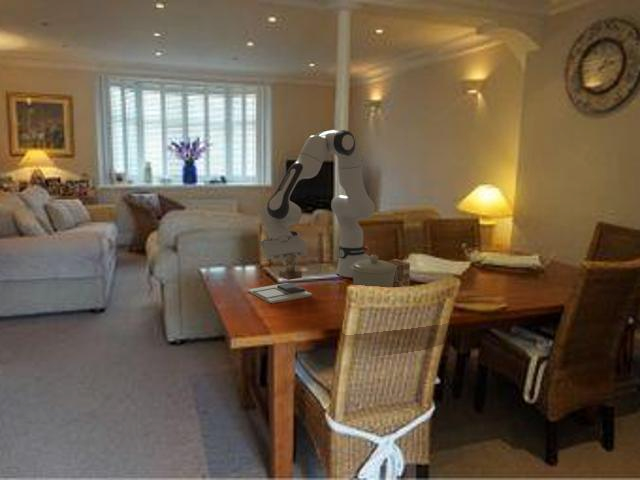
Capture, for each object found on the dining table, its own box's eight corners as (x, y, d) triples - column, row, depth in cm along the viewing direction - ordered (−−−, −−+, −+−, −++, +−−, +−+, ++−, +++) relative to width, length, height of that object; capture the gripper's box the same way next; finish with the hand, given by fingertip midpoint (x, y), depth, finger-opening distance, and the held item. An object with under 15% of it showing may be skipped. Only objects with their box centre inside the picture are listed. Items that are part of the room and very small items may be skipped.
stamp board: (286, 285, 240) (286, 280, 239) (311, 295, 224) (312, 290, 223) (247, 291, 228) (247, 286, 228) (270, 303, 212) (270, 298, 212)
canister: (345, 311, 204) (346, 258, 200) (354, 298, 221) (356, 249, 218) (391, 316, 200) (394, 261, 196) (397, 302, 217) (400, 252, 213)
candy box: (409, 298, 223) (410, 262, 220) (401, 299, 221) (403, 263, 218) (395, 292, 230) (396, 258, 227) (387, 294, 228) (389, 259, 225)
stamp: (292, 274, 233) (293, 252, 231) (301, 277, 227) (302, 255, 225) (279, 276, 229) (279, 253, 227) (287, 279, 223) (288, 256, 221)
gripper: (261, 235, 224) (273, 262, 218) (301, 231, 236) (313, 257, 230) (256, 244, 228) (267, 271, 222) (296, 240, 240) (307, 265, 234)
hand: (291, 264), depth 226 cm, fingers closed on stamp, 4 cm apart
